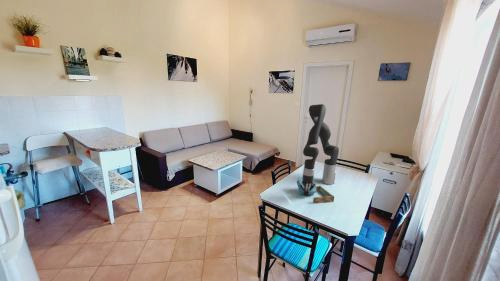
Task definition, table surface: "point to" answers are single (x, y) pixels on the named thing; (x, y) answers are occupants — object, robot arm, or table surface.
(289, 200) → the table surface
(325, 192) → the brown wooden u shape
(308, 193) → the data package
